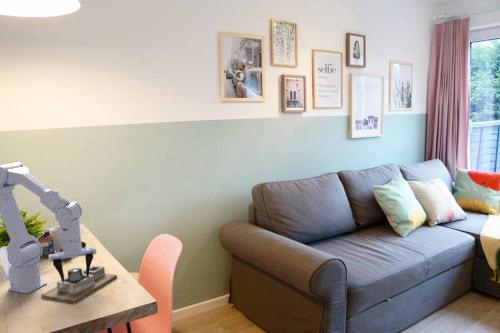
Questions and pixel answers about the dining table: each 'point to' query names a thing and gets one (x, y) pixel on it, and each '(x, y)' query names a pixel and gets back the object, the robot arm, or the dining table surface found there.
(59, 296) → the fitting board
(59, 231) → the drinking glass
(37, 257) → the robot arm
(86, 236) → the dining table surface
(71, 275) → the gray metal cylinder
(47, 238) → the supplement bottle
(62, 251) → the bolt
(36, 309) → the dining table surface
